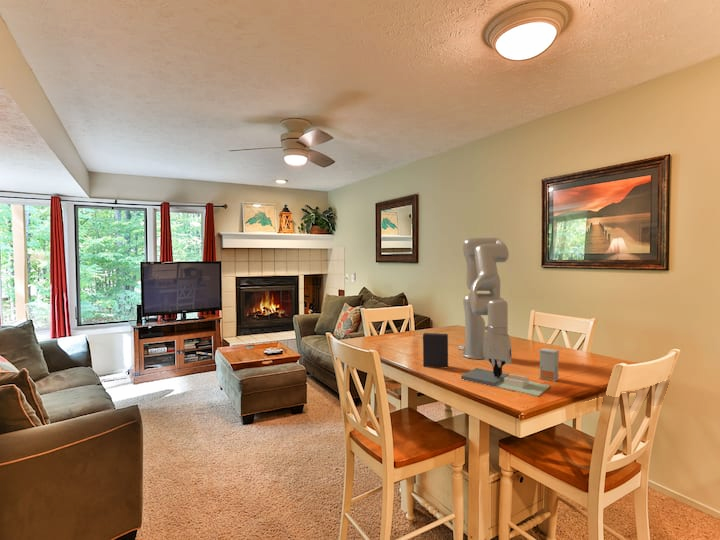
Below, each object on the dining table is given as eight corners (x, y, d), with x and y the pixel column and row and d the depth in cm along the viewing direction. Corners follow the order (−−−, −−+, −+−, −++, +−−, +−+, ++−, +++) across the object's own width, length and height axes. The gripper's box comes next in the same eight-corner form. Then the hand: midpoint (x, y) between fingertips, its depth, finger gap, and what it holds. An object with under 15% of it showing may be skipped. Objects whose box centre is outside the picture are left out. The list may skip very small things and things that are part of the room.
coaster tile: (504, 384, 150) (504, 378, 149) (510, 380, 155) (510, 373, 155) (522, 388, 145) (522, 381, 145) (528, 383, 150) (528, 377, 150)
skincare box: (539, 378, 157) (539, 349, 157) (543, 376, 160) (543, 347, 160) (555, 382, 153) (555, 352, 153) (558, 379, 156) (559, 350, 156)
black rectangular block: (448, 365, 178) (447, 333, 177) (447, 368, 174) (447, 335, 173) (424, 364, 181) (423, 332, 180) (423, 366, 177) (422, 334, 176)
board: (461, 379, 158) (461, 375, 158) (476, 371, 168) (476, 368, 168) (494, 386, 148) (494, 382, 148) (508, 378, 159) (508, 374, 159)
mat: (494, 386, 148) (494, 385, 148) (508, 378, 159) (508, 377, 159) (538, 396, 138) (538, 395, 138) (550, 386, 148) (550, 385, 148)
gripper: (475, 330, 156) (475, 374, 157) (513, 334, 146) (512, 382, 147) (483, 327, 162) (483, 370, 162) (520, 331, 152) (519, 377, 152)
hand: (497, 376), depth 155 cm, fingers closed
